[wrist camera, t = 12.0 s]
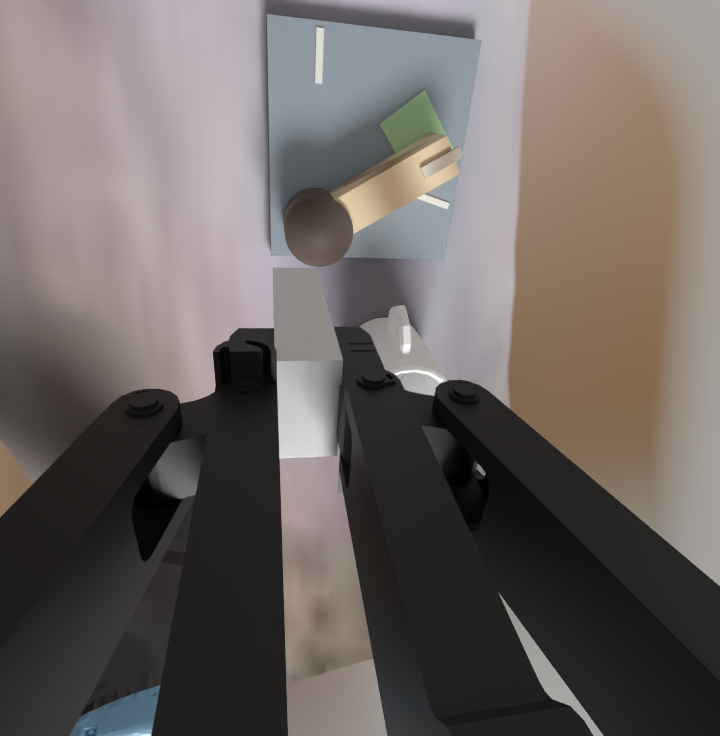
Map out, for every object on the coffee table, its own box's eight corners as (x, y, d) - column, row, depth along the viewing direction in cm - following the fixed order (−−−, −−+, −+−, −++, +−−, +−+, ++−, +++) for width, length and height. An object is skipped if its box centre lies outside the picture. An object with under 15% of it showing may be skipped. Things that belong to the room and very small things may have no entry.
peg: (303, 262, 39) (306, 278, 35) (271, 207, 36) (271, 219, 33) (455, 177, 37) (473, 185, 34) (432, 114, 35) (449, 115, 31)
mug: (426, 273, 43) (464, 317, 34) (419, 384, 49) (449, 443, 40) (339, 279, 41) (356, 325, 33) (342, 391, 47) (358, 454, 39)
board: (271, 251, 39) (270, 255, 38) (267, 16, 31) (266, 13, 30) (439, 256, 42) (444, 260, 41) (475, 41, 34) (482, 39, 33)
